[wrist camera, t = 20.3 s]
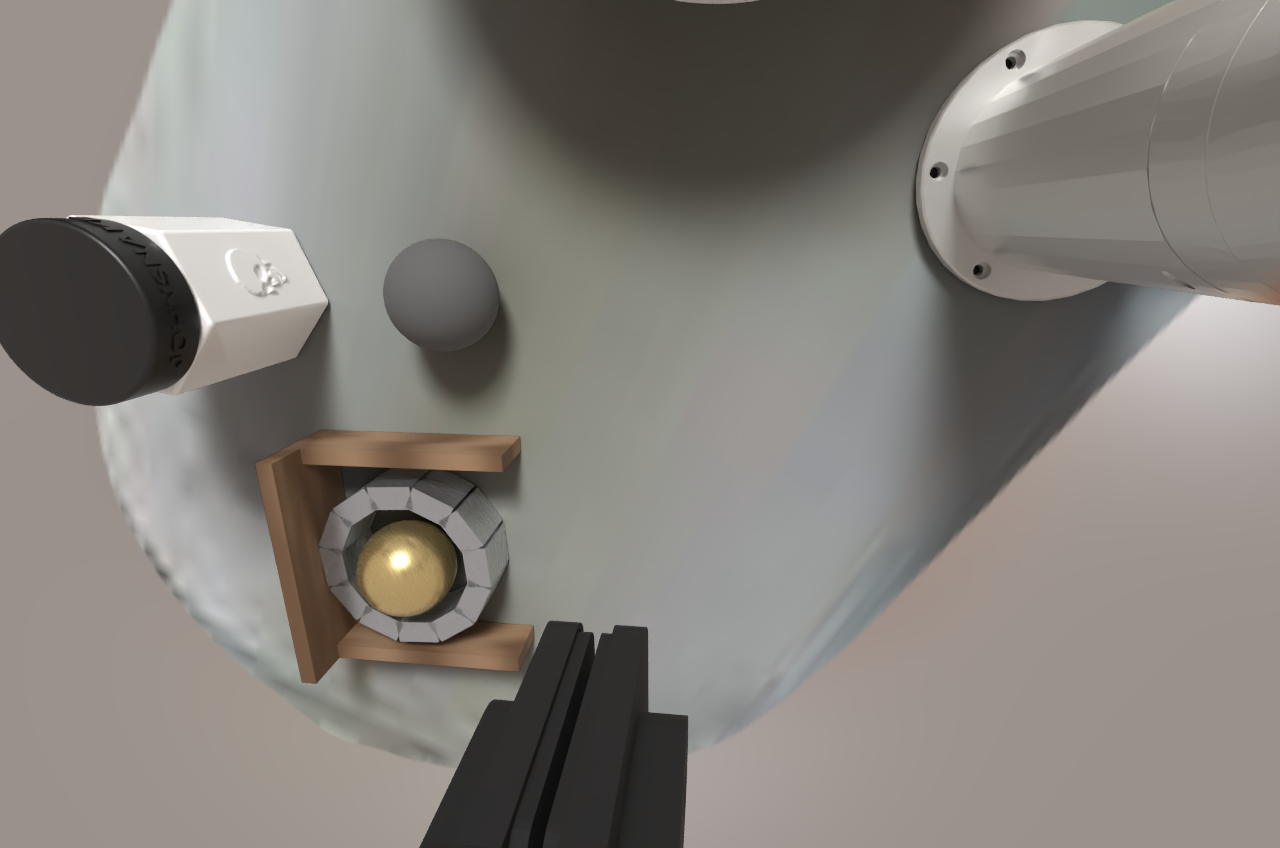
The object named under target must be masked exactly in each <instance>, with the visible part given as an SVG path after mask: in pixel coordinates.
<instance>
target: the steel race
mask: <svg viewBox="0 0 1280 848" xmlns="http://www.w3.org/2000/svg"><path fill="white" fill-rule="evenodd" d="M474 486H475V484H473V483H471V482H469V481H467V480H465V479H463V478H461V477H459V476H457V475H455V474H453V473H451V472H449V471H447V470H435V469H410V468H390V469H389V470H387V471H386V472H384V473H383V474H381V475H380V476H378V477H377V478H375V479H374V480H372V481H371V482H369V483H368V484H366V485H365V486H363V487H362V488H360V489H359V490H358V491H356V492H355V493H354V494H352V495H351V496H350V497H348V498H347V499H345V500H344V501H343V502H341V503H340V504H339V505H337V506H336V507H335V508H333V510H332V511H331V512H330V515H329V517H328V520H327V523H326V526H325V529H324V532H323V535H322V538H321V541H320V543H319V546H321V547H320V548H319V552H320V556H321V560H322V564H323V568H324V572H325V576H326V580H327V584H328V586H332V587H331V588H330V590H331V591H332V592H333V593H334V595H335V596H336V597H337V598H338V599H339V601H340V602H341V603H342V604H343V605H344V606H345V608H346V609H347V610H348V611H349V612H350V613H351V615H352V616H353V617H354V618H355V619H356V620H358V619H359V618H361V619H360V622H359V623H361V624H363V625H365V626H368V627H370V628H372V629H374V630H376V631H378V632H380V633H382V634H384V635H386V636H388V637H390V638H392V639H394V640H396V641H397V639H398V638H399V639H400V642H439V641H440V640H441V641H444V640H446V639H448V638H450V637H452V636H453V635H455V634H457V633H459V632H461V631H462V630H464V629H466V628H468V627H470V626H472V625H473V624H474V623H475V622H476V621H477V619H478V617H479V616H480V614H481V612H482V611H483V609H484V608H485V606H486V604H487V603H488V601H489V599H490V598H491V596H492V594H493V593H494V591H495V589H496V587H497V585H498V583H499V581H500V579H501V577H502V574H503V572H504V570H505V568H506V566H507V564H508V560H509V554H508V548H507V541H506V534H505V527H504V523H500V522H501V521H502V518H501V517H500V515H499V514H498V513H497V512H496V510H495V509H494V508H493V506H492V505H491V504H490V502H489V501H488V500H487V498H486V497H485V496H484V494H483V493H482V492H481V491H480V489H479V488H478V487H477V488H476V489H474V490H473V488H474ZM377 510H410V511H412V512H414V513H416V514H418V515H420V516H422V517H424V518H426V519H428V520H431V521H433V522H435V523H437V524H439V525H441V526H442V528H443V529H444V530H445V532H446V533H447V534H448V535H449V537H450V538H451V539H452V540H453V542H454V543H455V544H456V545H457V547H458V548H459V549H460V551H461V552H462V554H463V560H464V566H465V572H466V578H467V584H466V585H464V586H463V587H461V588H459V589H457V590H456V591H454V592H448V594H447V595H446V596H445V597H444V599H443V600H442V601H441V602H440V603H438V604H437V605H436V606H434V607H433V608H432V609H430V610H428V611H426V612H424V613H421V614H418V615H414V616H407V617H399V616H392V615H388V614H385V613H383V612H381V611H379V610H377V609H375V608H374V607H373V606H372V605H370V604H369V603H368V601H367V600H366V599H365V598H364V596H363V595H362V593H361V591H360V588H359V585H358V582H357V573H356V570H357V562H358V559H359V556H360V553H361V551H362V549H363V547H364V546H365V544H366V543H367V541H368V540H369V539H370V538H371V537H372V536H373V533H372V529H371V526H372V523H373V520H374V518H375V515H376V513H377Z"/></svg>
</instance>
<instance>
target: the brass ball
mask: <svg viewBox="0 0 1280 848" xmlns="http://www.w3.org/2000/svg"><path fill="white" fill-rule="evenodd" d="M356 573H357V582H358V585H359V588H360V591H361V593H362V595H363V596H364V598H365V599H366V600H367V601H368V603H369V604H370V605H372V606H373V607H374V608H375V609H377V610H379V611H381V612H383V613H385V614H388V615H392V616H399V617H407V616H414V615H418V614H421V613H424V612H426V611H428V610H430V609H432V608H433V607H434V606H436V605H437V604H438V603H440V602H441V601H442V600H443V599H444V597H445V596H446V595H447V594H448V592H449V591H450V589H451V587H452V585H453V583H454V581H455V577H456V573H457V556H456V552H455V549H454V546H453V544H452V542H451V541H450V539H449V538H448V537H447V535H446V534H445V533H444V532H443V531H442V530H440V529H439V528H437V527H436V526H434V525H432V524H430V523H427V522H424V521H419V520H403V521H398V522H394V523H392V524H389V525H387V526H385V527H383V528H382V529H380V530H379V531H377V532H376V533H375V534H374V535H373V536H372V537H371V538H370V539H369V540H368V541H367V543H366V544H365V546H364V547H363V549H362V551H361V553H360V556H359V559H358V562H357V570H356Z"/></svg>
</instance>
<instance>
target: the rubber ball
mask: <svg viewBox="0 0 1280 848" xmlns="http://www.w3.org/2000/svg"><path fill="white" fill-rule="evenodd" d="M383 296H384V303H385V307H386V310H387V313H388V315H389V317H390V319H391V321H392V323H393V324H394V326H395V327H396V328H397V329H398V331H399V332H400V333H401V334H402V335H404V336H405V337H406V338H407V339H408V340H410V341H411V342H413V343H414V344H416V345H418V346H420V347H423V348H426V349H429V350H433V351H442V352H448V351H456V350H461V349H464V348H466V347H469V346H471V345H473V344H474V343H476V342H477V341H479V340H480V339H481V338H482V337H483V336H485V335H486V333H487V332H488V331H489V330H490V328H491V327H492V325H493V323H494V321H495V319H496V316H497V313H498V309H499V289H498V284H497V281H496V278H495V276H494V274H493V272H492V270H491V268H490V267H489V265H488V264H487V263H486V261H485V260H484V259H483V258H482V257H481V256H480V255H479V254H478V253H477V252H475V251H474V250H472V249H471V248H469V247H467V246H465V245H463V244H461V243H459V242H456V241H452V240H447V239H428V240H424V241H420V242H417V243H415V244H413V245H411V246H409V247H407V248H406V249H404V250H403V251H402V252H401V253H400V254H399V255H398V256H397V257H396V258H395V259H394V260H393V262H392V263H391V265H390V267H389V269H388V271H387V274H386V277H385V281H384V288H383Z"/></svg>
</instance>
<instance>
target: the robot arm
mask: <svg viewBox="0 0 1280 848" xmlns="http://www.w3.org/2000/svg"><path fill="white" fill-rule="evenodd" d="M1006 59H1009V60H1011V62H1012V67H1011V69H1010V70H1009V69H1008V68H1007V67H1006V62H1005V60H1006ZM932 168H936V169H937V170H938V174H937V176H936V177H935V178H932V177H931V176H930V170H931V169H932ZM916 205H917V210H918V214H919V219H920V223H921V228H922V230H923V232H924V234H925V237H926V239H927V241H928V243H929V245H930V248H931V249H932V250H933V252H934V253H935V254H936V256H937V257H938V259H939V260H940V261H941V263H942V264H943V265H944V266H945V267H946V268H947V269H948V270H949V271H951V272H952V273H953V274H954V275H955V276H956V277H957V278H959V279H960V280H961V281H963V282H965V283H967V284H969V285H970V286H972V287H974V288H976V289H978V290H980V291H983V292H986V293H989V294H992V295H995V296H999V297H1003V298H1009V299H1014V300H1019V301H1047V300H1053V299H1059V298H1065V297H1071V296H1074V295H1077V294H1079V293H1082V292H1085V291H1088V290H1091V289H1094V288H1096V287H1098V286H1100V285H1102V284H1104V283H1106V282H1108V281H1110V282H1117V283H1124V284H1131V285H1138V286H1145V287H1152V288H1159V289H1166V290H1173V291H1180V292H1187V293H1194V294H1201V295H1208V296H1215V297H1222V298H1229V299H1236V300H1243V301H1250V302H1258V303H1266V304H1273V305H1280V0H1173V1H1171V2H1169V3H1167V4H1165V5H1163V6H1161V7H1159V8H1157V9H1155V10H1153V11H1151V12H1149V13H1147V14H1145V15H1143V16H1141V17H1139V18H1137V19H1135V20H1133V21H1131V22H1129V23H1127V24H1125V25H1123V24H1119V23H1116V22H1110V21H1094V20H1082V21H1075V22H1068V23H1061V24H1055V25H1052V26H1049V27H1046V28H1043V29H1041V30H1038V31H1035V32H1032V33H1029V34H1027V35H1025V36H1023V37H1021V38H1019V39H1017V40H1016V41H1014V42H1012V43H1010V44H1008V45H1006V46H1005V47H1003V48H1001V49H1000V50H998V51H997V52H995V53H994V54H992V55H991V56H990V57H988V58H987V59H985V60H984V61H982V62H981V63H980V64H979V65H978V66H977V67H976V68H975V69H974V70H972V71H971V72H970V73H969V74H968V75H967V76H966V77H965V78H964V79H963V80H962V81H961V82H960V83H959V84H958V85H957V87H956V88H955V89H954V91H953V92H952V93H951V94H950V96H949V97H948V98H947V99H946V101H945V102H944V103H943V105H942V106H941V108H940V110H939V112H938V114H937V116H936V117H935V119H934V121H933V123H932V125H931V126H930V128H929V131H928V133H927V136H926V139H925V142H924V145H923V148H922V150H921V153H920V158H919V164H918V170H917V176H916ZM976 265H978V266H979V267H980V270H979V272H978V273H977V274H975V275H974V274H973V269H974V267H975V266H976ZM687 752H688V716H685V715H673V714H661V713H649V712H648V629H647V627H636V626H621V625H615V626H614V629H613V633H612V634H607V633H602V634H601V637H600V640H599V644H598V647H597V651H596V654H595V648H594V635H593V633H592V632H583V625H582V623H577V622H562V621H549V622H548V623H547V625H546V627H545V630H544V632H543V634H542V637H541V639H540V642H539V644H538V646H537V649H536V651H535V653H534V656H533V658H532V660H531V663H530V665H529V667H528V670H527V672H526V674H525V677H524V679H523V681H522V684H521V686H520V688H519V691H518V693H517V695H516V698H515V700H514V701H506V700H493V701H491V702H490V703H489V705H488V706H487V708H486V710H485V712H484V714H483V716H482V718H481V720H480V722H479V724H478V726H477V728H476V730H475V732H474V735H473V737H472V739H471V741H470V743H469V745H468V747H467V749H466V751H465V753H464V755H463V757H462V760H461V762H460V764H459V766H458V768H457V770H456V772H455V774H454V776H453V778H452V781H451V783H450V785H449V787H448V789H447V791H446V793H445V795H444V797H443V799H442V802H441V803H440V806H439V808H438V810H437V812H436V814H435V816H434V818H433V820H432V822H431V825H430V827H429V829H428V831H427V833H426V835H425V837H424V839H423V841H422V843H421V845H420V847H419V848H683V843H684V823H685V805H686V804H685V803H686V783H687V781H686V780H687Z"/></svg>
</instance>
